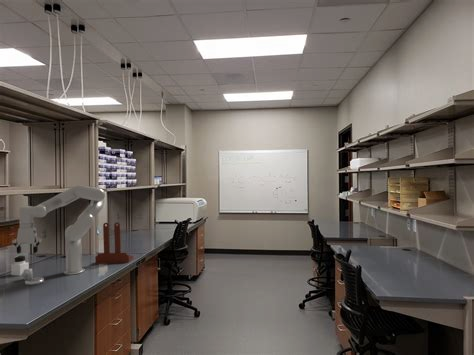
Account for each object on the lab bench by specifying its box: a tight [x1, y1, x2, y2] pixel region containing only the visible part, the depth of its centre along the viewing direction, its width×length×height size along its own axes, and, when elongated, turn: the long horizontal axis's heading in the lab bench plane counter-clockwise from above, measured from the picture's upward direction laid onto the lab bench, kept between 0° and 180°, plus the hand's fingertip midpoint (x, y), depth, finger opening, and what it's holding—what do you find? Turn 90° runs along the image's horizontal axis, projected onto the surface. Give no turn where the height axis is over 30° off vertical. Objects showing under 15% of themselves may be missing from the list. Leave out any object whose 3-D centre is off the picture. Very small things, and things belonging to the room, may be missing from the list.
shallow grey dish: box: [24, 276, 45, 286], centre depth 204 cm, size 10×10×2 cm
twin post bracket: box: [94, 221, 135, 265], centre depth 252 cm, size 24×13×30 cm, turn 93°
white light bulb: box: [21, 268, 34, 281], centre depth 211 cm, size 6×5×6 cm
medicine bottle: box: [10, 255, 30, 276], centre depth 224 cm, size 7×7×12 cm
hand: (27, 252), depth 210 cm, fingers open, 9 cm apart
